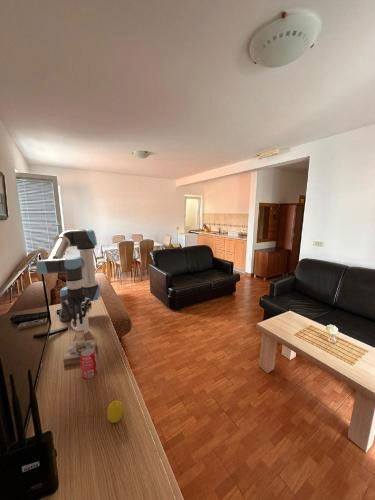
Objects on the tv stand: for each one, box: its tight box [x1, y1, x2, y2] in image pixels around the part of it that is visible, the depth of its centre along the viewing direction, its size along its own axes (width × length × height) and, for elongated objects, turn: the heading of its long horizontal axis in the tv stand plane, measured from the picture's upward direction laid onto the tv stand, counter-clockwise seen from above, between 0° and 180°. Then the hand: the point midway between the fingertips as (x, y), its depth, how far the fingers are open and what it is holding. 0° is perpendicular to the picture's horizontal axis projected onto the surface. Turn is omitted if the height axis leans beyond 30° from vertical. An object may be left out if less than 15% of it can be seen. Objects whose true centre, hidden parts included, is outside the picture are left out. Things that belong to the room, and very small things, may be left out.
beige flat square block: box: [62, 338, 98, 367], centre depth 113 cm, size 14×14×4 cm
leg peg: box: [74, 329, 86, 352], centre depth 112 cm, size 4×4×14 cm
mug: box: [70, 311, 90, 335], centre depth 134 cm, size 10×7×12 cm, turn 120°
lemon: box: [106, 399, 124, 424], centre depth 76 cm, size 6×6×8 cm
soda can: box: [79, 348, 98, 379], centre depth 98 cm, size 7×7×12 cm
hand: (79, 329), depth 111 cm, fingers closed
